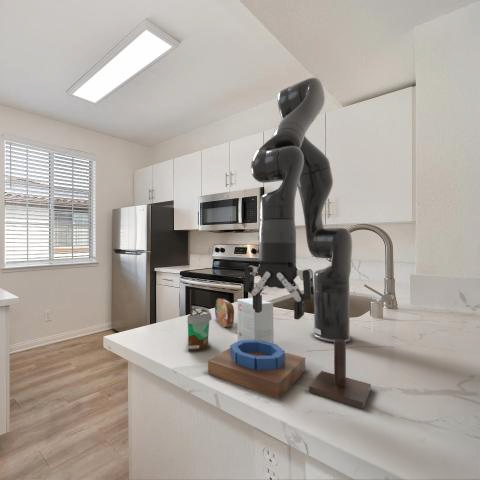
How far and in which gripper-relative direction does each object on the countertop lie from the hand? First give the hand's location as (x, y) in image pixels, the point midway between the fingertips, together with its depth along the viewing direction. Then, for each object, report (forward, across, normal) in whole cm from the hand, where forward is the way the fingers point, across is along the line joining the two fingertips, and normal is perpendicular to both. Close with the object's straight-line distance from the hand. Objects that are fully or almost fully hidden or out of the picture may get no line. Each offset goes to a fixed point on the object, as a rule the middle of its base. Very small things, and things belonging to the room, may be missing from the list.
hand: (277, 315), depth 65 cm
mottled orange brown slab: (+14, +30, -28) cm, 43 cm away
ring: (+11, +5, 0) cm, 12 cm away
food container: (+14, +24, -5) cm, 28 cm away
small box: (+14, +12, -14) cm, 23 cm away
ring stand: (+14, -11, -3) cm, 18 cm away
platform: (+14, +5, 0) cm, 15 cm away
